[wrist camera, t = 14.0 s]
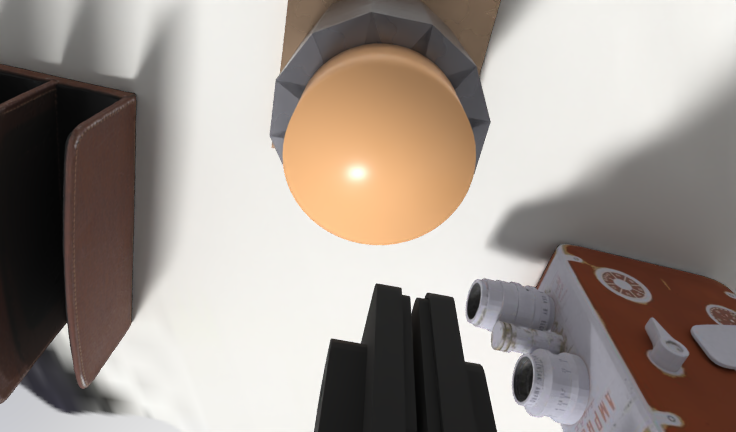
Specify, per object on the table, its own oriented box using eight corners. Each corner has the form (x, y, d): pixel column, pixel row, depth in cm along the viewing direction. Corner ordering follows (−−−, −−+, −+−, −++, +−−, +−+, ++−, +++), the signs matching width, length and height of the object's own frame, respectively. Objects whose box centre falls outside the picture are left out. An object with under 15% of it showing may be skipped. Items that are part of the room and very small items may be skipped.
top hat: (499, -11, 32) (553, 17, 22) (446, 173, 37) (471, 261, 27) (297, -54, 31) (258, -45, 21) (274, 141, 36) (235, 220, 27)
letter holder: (9, 300, 44) (-140, 449, 31) (-19, 57, 34) (-245, 129, 22) (134, 323, 44) (38, 477, 32) (139, 91, 35) (8, 180, 23)
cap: (471, 48, 25) (501, 86, 19) (432, 187, 29) (447, 258, 23) (316, 16, 25) (295, 45, 19) (296, 162, 28) (272, 228, 22)
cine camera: (489, 204, 38) (582, 439, 21) (733, 264, 40) (1008, 525, 23) (448, 304, 43) (496, 569, 25) (671, 354, 45) (861, 632, 27)
